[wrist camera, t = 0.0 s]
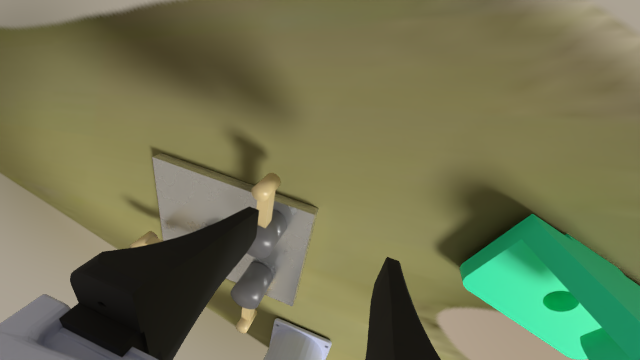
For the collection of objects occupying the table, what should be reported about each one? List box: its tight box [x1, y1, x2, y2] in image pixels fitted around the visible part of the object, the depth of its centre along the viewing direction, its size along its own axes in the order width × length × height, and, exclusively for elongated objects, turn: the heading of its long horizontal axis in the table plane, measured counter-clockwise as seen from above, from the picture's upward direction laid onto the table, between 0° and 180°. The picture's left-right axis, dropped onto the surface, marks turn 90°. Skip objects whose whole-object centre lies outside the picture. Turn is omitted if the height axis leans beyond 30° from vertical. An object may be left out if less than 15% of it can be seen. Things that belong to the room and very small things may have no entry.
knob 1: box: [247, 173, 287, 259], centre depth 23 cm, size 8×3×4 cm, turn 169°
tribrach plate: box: [152, 153, 318, 306], centre depth 29 cm, size 14×18×2 cm
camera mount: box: [460, 214, 640, 360], centre depth 18 cm, size 12×8×10 cm, turn 61°
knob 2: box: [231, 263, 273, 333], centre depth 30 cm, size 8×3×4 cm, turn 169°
